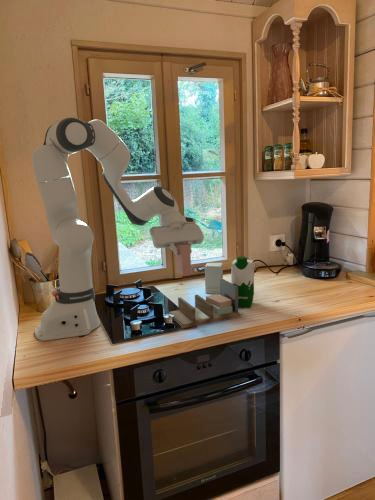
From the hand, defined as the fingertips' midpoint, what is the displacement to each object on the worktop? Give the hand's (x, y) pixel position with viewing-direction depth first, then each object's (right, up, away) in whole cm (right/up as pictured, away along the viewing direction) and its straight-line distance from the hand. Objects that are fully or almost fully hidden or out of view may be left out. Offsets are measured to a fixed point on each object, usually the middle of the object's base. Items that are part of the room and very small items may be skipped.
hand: (183, 253), depth 143 cm
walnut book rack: (+8, -24, -1) cm, 25 cm away
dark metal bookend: (+17, -21, +3) cm, 27 cm away
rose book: (0, -8, +2) cm, 8 cm away
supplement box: (+14, -18, +29) cm, 37 cm away
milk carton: (+24, -21, +10) cm, 33 cm away
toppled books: (+13, -21, +1) cm, 25 cm away
